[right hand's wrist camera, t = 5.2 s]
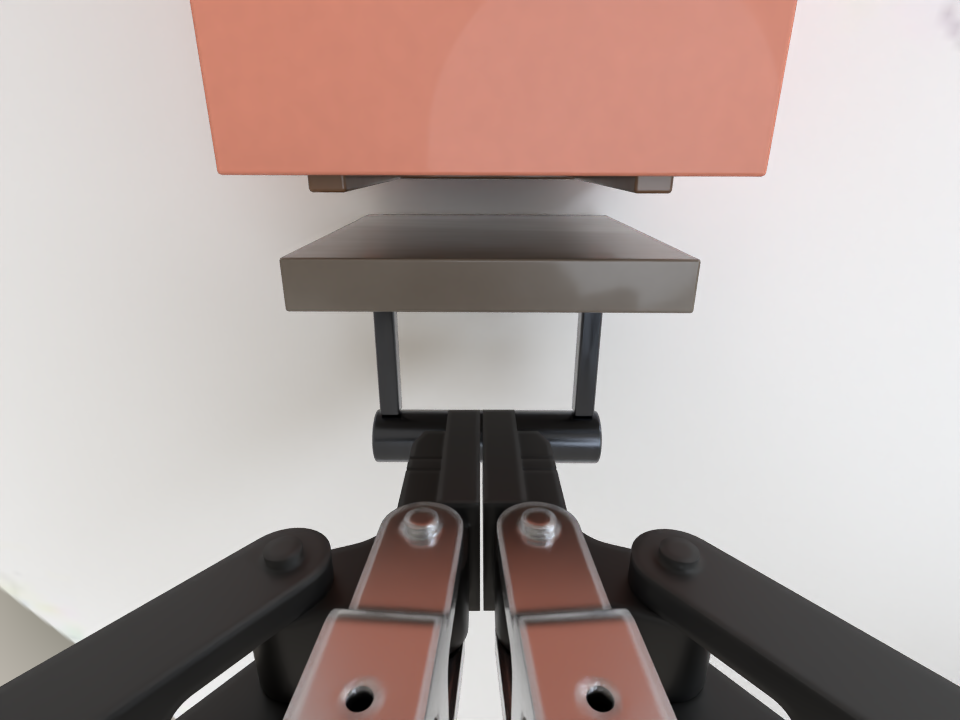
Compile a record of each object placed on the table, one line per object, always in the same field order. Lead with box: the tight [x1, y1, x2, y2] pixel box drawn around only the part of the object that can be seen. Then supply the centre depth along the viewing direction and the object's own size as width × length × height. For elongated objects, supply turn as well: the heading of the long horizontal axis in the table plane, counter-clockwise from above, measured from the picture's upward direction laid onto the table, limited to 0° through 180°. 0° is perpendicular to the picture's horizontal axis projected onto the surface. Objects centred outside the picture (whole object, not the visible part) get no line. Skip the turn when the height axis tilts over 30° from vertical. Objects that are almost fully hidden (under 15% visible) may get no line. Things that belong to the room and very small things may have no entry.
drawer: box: [280, 175, 700, 463], centre depth 14 cm, size 23×9×9 cm, turn 0°
